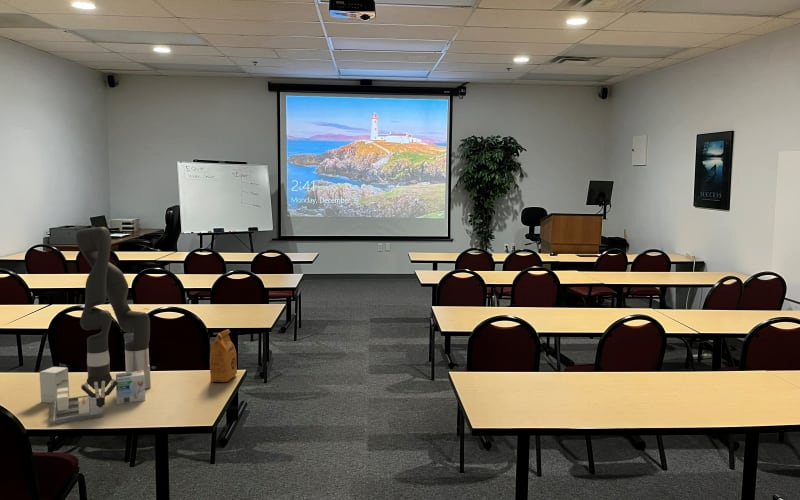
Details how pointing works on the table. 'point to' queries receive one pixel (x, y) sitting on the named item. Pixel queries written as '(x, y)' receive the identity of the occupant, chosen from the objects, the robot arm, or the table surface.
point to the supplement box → (53, 383)
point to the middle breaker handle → (62, 402)
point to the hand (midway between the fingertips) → (100, 406)
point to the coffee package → (222, 358)
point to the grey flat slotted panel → (74, 411)
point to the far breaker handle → (62, 391)
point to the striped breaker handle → (83, 405)
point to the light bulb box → (130, 387)
